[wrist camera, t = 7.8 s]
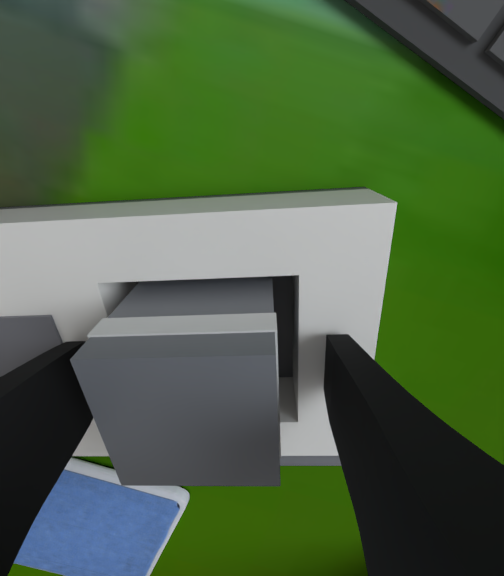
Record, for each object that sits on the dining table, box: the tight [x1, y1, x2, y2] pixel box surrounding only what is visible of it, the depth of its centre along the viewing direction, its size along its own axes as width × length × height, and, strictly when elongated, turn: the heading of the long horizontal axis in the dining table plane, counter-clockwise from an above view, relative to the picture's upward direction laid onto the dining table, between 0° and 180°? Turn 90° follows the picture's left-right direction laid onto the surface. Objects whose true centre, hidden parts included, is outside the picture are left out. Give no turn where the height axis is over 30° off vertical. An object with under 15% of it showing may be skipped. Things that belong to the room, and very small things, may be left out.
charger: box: [70, 276, 281, 486], centre depth 9 cm, size 4×4×5 cm
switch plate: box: [0, 187, 397, 456], centre depth 11 cm, size 9×14×3 cm, turn 94°
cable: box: [279, 456, 342, 466], centre depth 14 cm, size 1×10×1 cm, turn 94°
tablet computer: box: [14, 457, 189, 576], centre depth 18 cm, size 19×13×1 cm, turn 68°
